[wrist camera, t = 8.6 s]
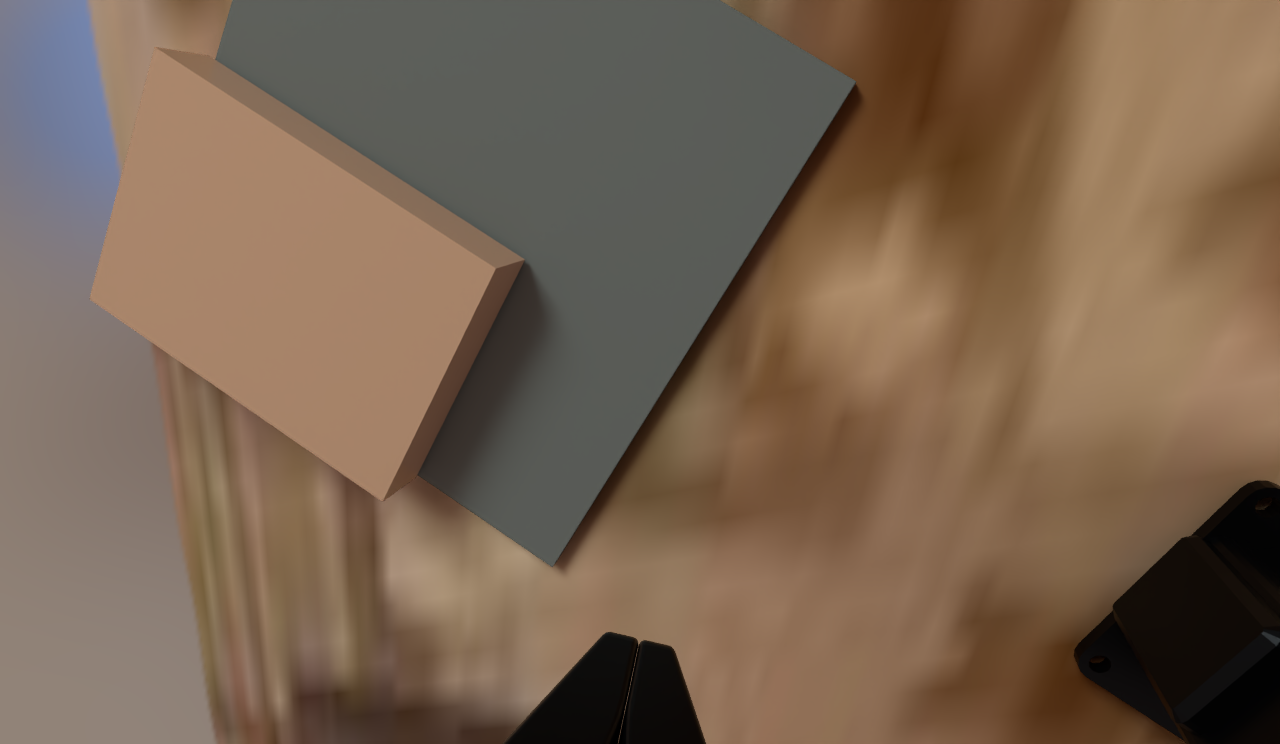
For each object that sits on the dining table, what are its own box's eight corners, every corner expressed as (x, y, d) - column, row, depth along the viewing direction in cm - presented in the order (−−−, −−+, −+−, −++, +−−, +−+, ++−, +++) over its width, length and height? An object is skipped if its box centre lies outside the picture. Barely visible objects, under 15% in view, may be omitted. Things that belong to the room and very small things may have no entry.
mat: (856, 83, 18) (855, 81, 17) (557, 560, 24) (552, 567, 23) (315, -239, 19) (304, -247, 19) (158, 288, 25) (148, 290, 25)
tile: (495, 268, 19) (154, 47, 20) (382, 501, 22) (89, 299, 23) (526, 258, 21) (213, 56, 22) (418, 475, 24) (145, 288, 25)
